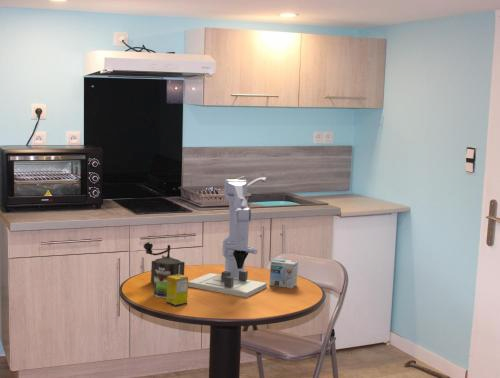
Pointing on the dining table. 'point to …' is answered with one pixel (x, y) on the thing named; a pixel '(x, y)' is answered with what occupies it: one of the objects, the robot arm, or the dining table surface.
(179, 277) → the supplement box
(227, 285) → the handle
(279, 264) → the light bulb box
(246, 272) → the handle
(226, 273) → the dark gray block
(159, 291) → the coffee can
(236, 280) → the breaker board
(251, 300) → the dining table surface
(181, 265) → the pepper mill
